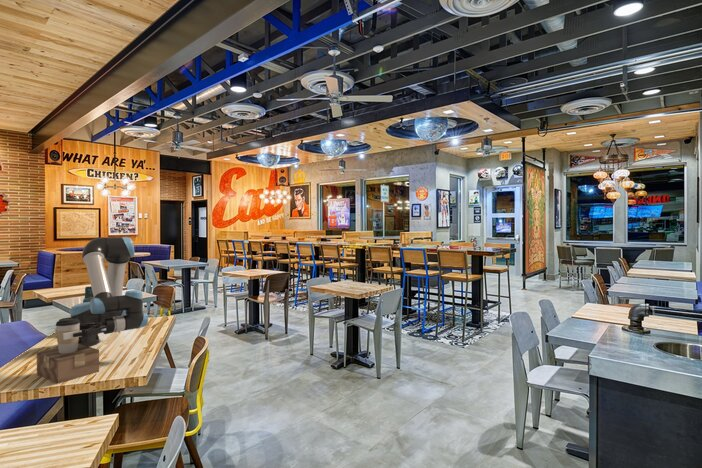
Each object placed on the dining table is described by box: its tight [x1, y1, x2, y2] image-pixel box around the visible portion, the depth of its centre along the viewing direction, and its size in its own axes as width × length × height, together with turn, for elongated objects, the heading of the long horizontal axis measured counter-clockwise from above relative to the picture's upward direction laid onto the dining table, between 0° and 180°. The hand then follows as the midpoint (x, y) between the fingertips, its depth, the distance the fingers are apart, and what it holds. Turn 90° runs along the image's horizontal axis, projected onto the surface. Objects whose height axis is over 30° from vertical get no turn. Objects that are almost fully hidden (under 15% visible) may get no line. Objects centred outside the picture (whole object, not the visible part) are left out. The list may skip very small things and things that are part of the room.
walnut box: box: [36, 344, 100, 384], centre depth 171 cm, size 20×16×10 cm
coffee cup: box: [55, 316, 80, 353], centre depth 171 cm, size 9×9×15 cm
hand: (59, 333), depth 168 cm, fingers open, 13 cm apart
